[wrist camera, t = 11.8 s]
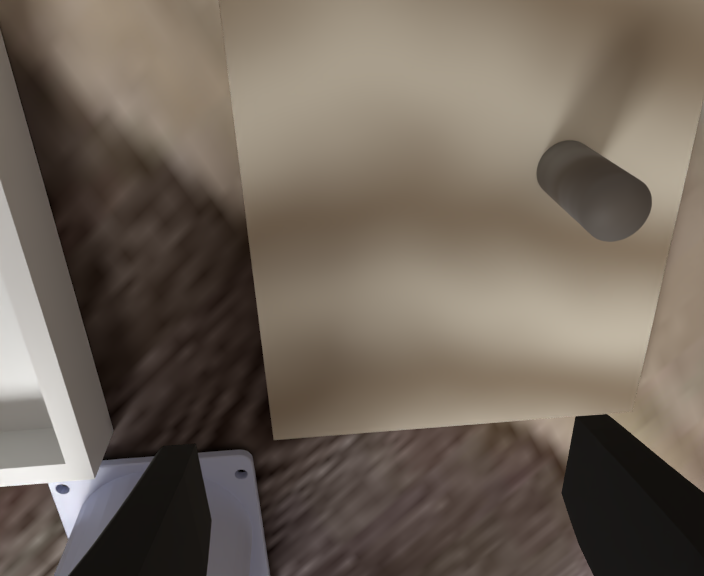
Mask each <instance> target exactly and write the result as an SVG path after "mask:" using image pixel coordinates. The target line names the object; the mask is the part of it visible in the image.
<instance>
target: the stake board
mask: <svg viewBox="0 0 704 576" xmlns="http://www.w3.org/2000/svg"><path fill="white" fill-rule="evenodd" d="M219 7H220V15H221V23H222V31H223V39H224V47H225V55H226V63H227V71H228V79H229V87H230V95H231V103H232V111H233V119H234V127H235V135H236V143H237V151H238V159H239V167H240V175H241V183H242V191H243V199H244V207H245V215H246V223H247V231H248V239H249V247H250V255H251V263H252V271H253V279H254V287H255V295H256V303H257V311H258V319H259V327H260V335H261V343H262V351H263V359H264V367H265V375H266V383H267V391H268V399H269V407H270V415H271V423H272V431H273V439H274V440H282V439H294V438H307V437H320V436H332V435H345V434H357V433H370V432H383V431H395V430H408V429H420V428H433V427H446V426H458V425H471V424H483V423H496V422H509V421H521V420H534V419H547V418H559V417H572V416H584V415H597V414H610V413H622V412H633V408H634V403H635V399H636V394H637V390H638V386H639V381H640V377H641V372H642V368H643V364H644V359H645V355H646V350H647V346H648V342H649V337H650V333H651V328H652V324H653V320H654V315H655V311H656V306H657V302H658V298H659V293H660V289H661V284H662V280H663V276H664V271H665V267H666V262H667V258H668V254H669V249H670V245H671V240H672V236H673V232H674V227H675V223H676V218H677V214H678V210H679V205H680V201H681V196H682V192H683V188H684V183H685V179H686V174H687V170H688V166H689V161H690V157H691V152H692V148H693V144H694V139H695V135H696V130H697V126H698V122H699V117H700V113H701V108H702V104H703V100H704V0H219Z"/></svg>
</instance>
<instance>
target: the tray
mask: <svg viewBox="0 0 704 576" xmlns="http://www.w3.org/2000/svg"><path fill="white" fill-rule="evenodd" d="M113 432H114V430H113V427H112V423H111V420H110V416H109V413H108V409H107V406H106V402H105V399H104V395H103V392H102V388H101V384H100V381H99V377H98V374H97V370H96V367H95V363H94V360H93V356H92V353H91V349H90V345H89V342H88V338H87V335H86V331H85V328H84V324H83V321H82V317H81V314H80V310H79V307H78V303H77V299H76V296H75V292H74V289H73V285H72V282H71V278H70V275H69V271H68V268H67V264H66V260H65V257H64V253H63V250H62V246H61V243H60V239H59V236H58V232H57V229H56V225H55V222H54V218H53V214H52V211H51V207H50V204H49V200H48V197H47V193H46V190H45V186H44V183H43V179H42V176H41V172H40V168H39V165H38V161H37V158H36V154H35V151H34V147H33V144H32V140H31V137H30V133H29V129H28V126H27V122H26V119H25V115H24V112H23V108H22V105H21V101H20V98H19V94H18V91H17V87H16V83H15V80H14V76H13V73H12V69H11V66H10V62H9V59H8V55H7V52H6V48H5V44H4V41H3V37H2V34H1V30H0V487H3V486H15V485H27V484H40V483H52V482H64V481H77V480H89V479H95V477H96V475H97V472H98V470H99V467H100V465H101V462H102V460H103V457H104V455H105V452H106V450H107V447H108V444H109V442H110V439H111V437H112V434H113Z"/></svg>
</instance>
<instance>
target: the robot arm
mask: <svg viewBox="0 0 704 576" xmlns="http://www.w3.org/2000/svg"><path fill="white" fill-rule="evenodd" d="M237 470H245V472H239V471H237ZM61 484H64V485H66V486H63V485H61ZM48 485H49V488H50V491H51V493H52V496H53V499H54V501H55V504H56V507H57V510H58V512H59V515H60V518H61V521H62V523H63V526H64V529H65V531H66V534H67V537H68V542H67V544H66V547H65V549H64V552H63V554H62V557H61V559H60V562H59V564H58V567H57V569H56V572H55V574H54V576H270V569H269V563H268V556H267V549H266V542H265V536H264V529H263V522H262V515H261V509H260V502H259V495H258V488H257V482H256V475H255V468H254V462H253V457H252V454H250V453H249V452H248V451H246V450H226V451H214V452H201V453H198V452H197V447H196V444H186V445H172V446H163V447H162V448H161V449H160V450H159V451H158V452H157V453H156V455H155V456H151V457H139V458H126V459H113V460H102V462H101V465H100V467H99V470H98V472H97V475H96V477H95V479H89V480H77V481H64V482H52V483H48ZM67 486H68V487H67ZM562 496H563V499H564V502H565V505H566V508H567V511H568V514H569V517H570V520H571V523H572V526H573V529H574V532H575V535H576V537H577V540H578V543H579V545H580V548H581V550H582V552H583V554H584V556H585V558H586V560H587V563H588V565H589V567H590V569H591V571H592V573H593V575H594V576H704V492H702V491H701V490H700V489H698V488H697V487H696V486H695V485H693V484H692V483H691V482H690V481H688V480H687V479H686V478H684V477H683V476H682V475H681V474H679V473H678V472H677V471H676V470H675V469H673V468H672V467H671V466H670V465H668V464H667V463H666V462H665V461H664V460H662V459H661V458H660V457H659V456H657V455H656V454H655V453H654V452H653V451H651V450H650V449H649V448H648V447H647V446H645V445H644V444H643V443H642V442H641V441H639V440H638V439H637V438H636V437H634V436H633V435H632V434H631V433H630V432H628V431H627V430H626V429H625V428H624V427H622V426H621V425H620V424H619V423H618V422H616V421H615V420H614V419H612V418H611V417H610V416H609V415H607V414H603V415H589V416H576V417H575V423H574V428H573V434H572V439H571V445H570V450H569V456H568V461H567V466H566V472H565V477H564V483H563V488H562Z"/></svg>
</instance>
